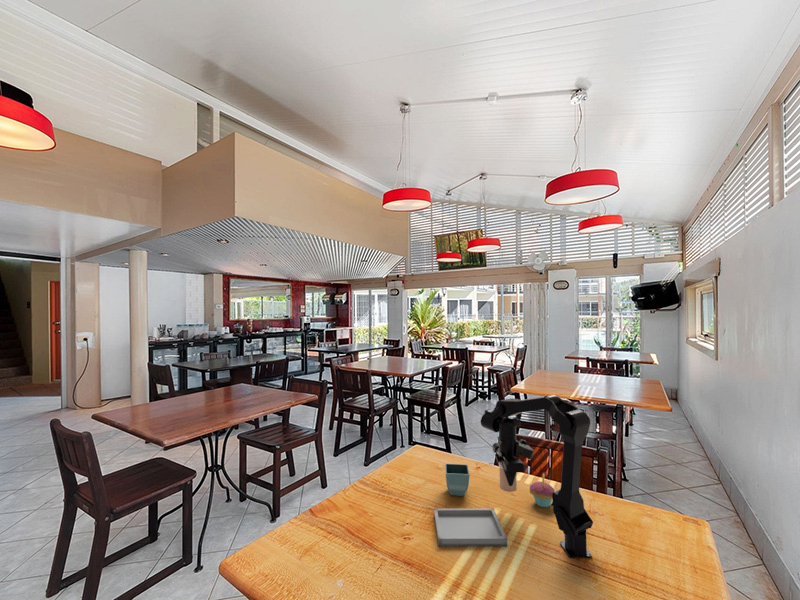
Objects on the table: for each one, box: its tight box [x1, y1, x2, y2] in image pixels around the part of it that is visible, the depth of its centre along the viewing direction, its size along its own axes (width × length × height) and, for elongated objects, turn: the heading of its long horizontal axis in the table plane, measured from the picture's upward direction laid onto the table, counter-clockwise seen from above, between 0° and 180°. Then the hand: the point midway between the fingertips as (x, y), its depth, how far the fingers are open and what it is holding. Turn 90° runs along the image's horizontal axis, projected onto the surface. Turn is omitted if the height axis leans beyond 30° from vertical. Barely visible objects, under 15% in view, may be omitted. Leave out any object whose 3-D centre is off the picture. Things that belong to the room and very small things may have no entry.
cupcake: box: [529, 472, 556, 508], centre depth 130 cm, size 9×8×12 cm
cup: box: [498, 461, 518, 493], centre depth 126 cm, size 6×6×8 cm
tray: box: [433, 507, 508, 547], centre depth 115 cm, size 16×20×2 cm
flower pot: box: [444, 463, 471, 497], centre depth 138 cm, size 9×9×9 cm
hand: (508, 481), depth 126 cm, fingers closed on cup, 6 cm apart
